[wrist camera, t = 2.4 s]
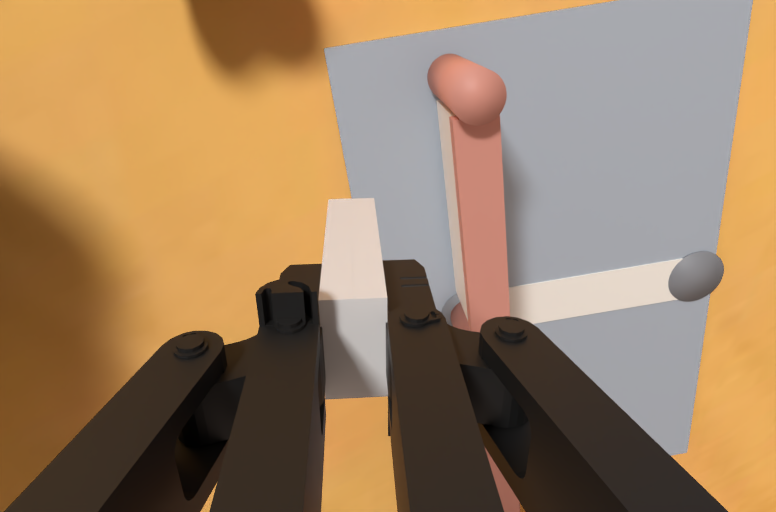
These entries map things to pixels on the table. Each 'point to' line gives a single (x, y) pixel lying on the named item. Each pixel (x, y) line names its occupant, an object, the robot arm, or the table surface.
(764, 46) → the table surface
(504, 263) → the fence panel
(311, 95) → the table surface
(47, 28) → the table surface
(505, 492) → the fence fixed
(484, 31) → the card
